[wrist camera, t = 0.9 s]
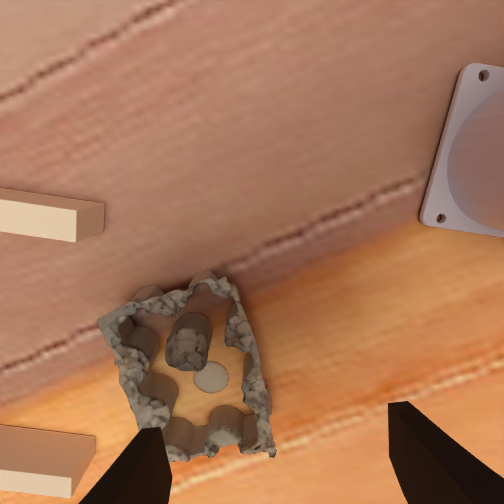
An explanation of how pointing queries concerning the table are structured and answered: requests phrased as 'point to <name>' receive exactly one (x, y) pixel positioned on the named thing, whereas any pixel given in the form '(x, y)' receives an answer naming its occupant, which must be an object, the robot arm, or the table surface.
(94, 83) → the table surface
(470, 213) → the robot arm
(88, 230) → the display bay
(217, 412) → the egg carton
